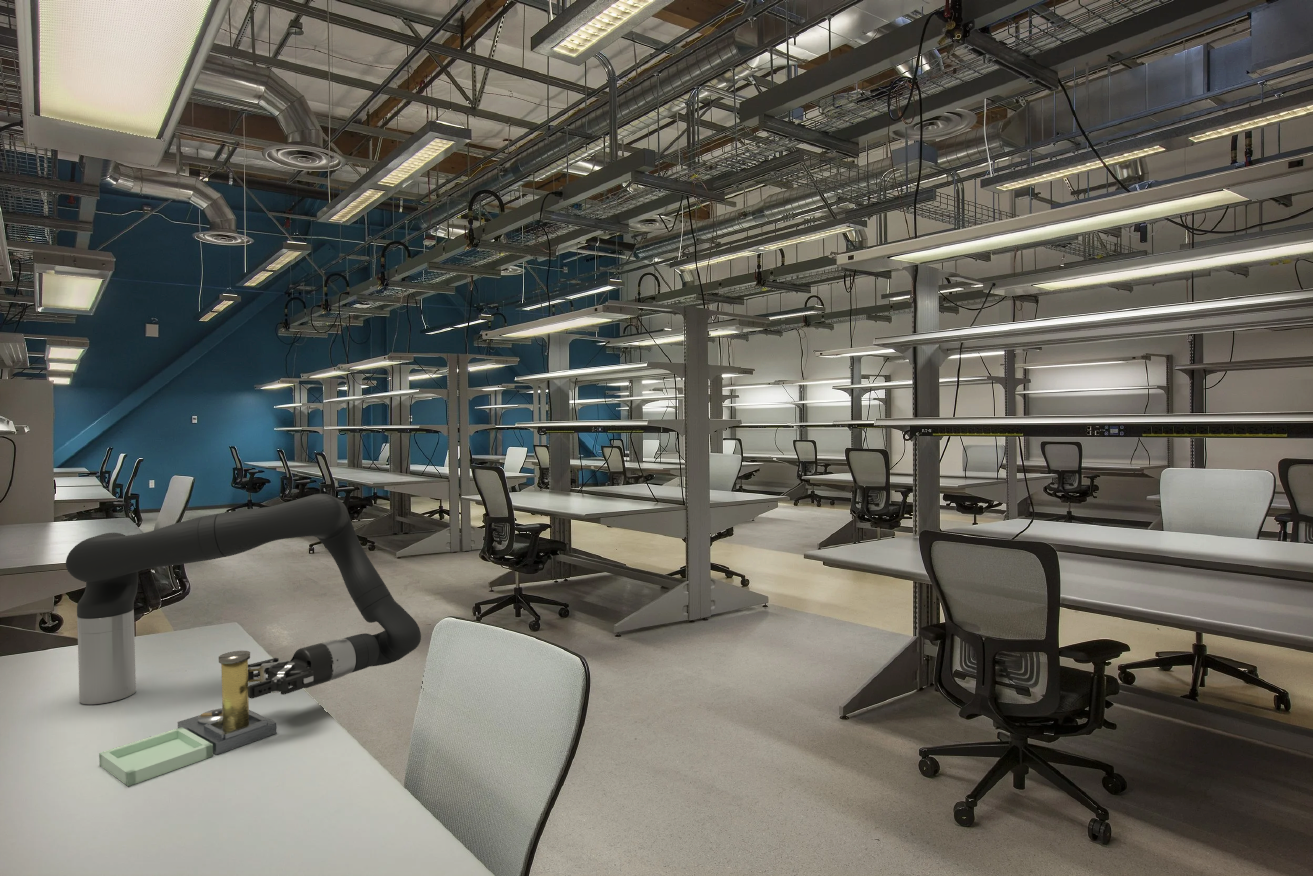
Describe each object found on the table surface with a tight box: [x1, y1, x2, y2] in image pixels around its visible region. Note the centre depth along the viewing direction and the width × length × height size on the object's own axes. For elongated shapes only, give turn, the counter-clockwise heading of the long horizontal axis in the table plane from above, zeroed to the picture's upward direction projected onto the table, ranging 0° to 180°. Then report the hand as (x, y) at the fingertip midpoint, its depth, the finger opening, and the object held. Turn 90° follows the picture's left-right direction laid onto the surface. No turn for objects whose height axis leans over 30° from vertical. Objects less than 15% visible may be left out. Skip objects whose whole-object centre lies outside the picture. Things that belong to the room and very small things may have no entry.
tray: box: [98, 727, 214, 787], centre depth 118 cm, size 12×12×2 cm
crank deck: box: [177, 708, 277, 756], centre depth 128 cm, size 15×10×3 cm, turn 55°
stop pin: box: [218, 650, 251, 732], centre depth 126 cm, size 5×5×13 cm
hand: (236, 687), depth 126 cm, fingers open, 8 cm apart
